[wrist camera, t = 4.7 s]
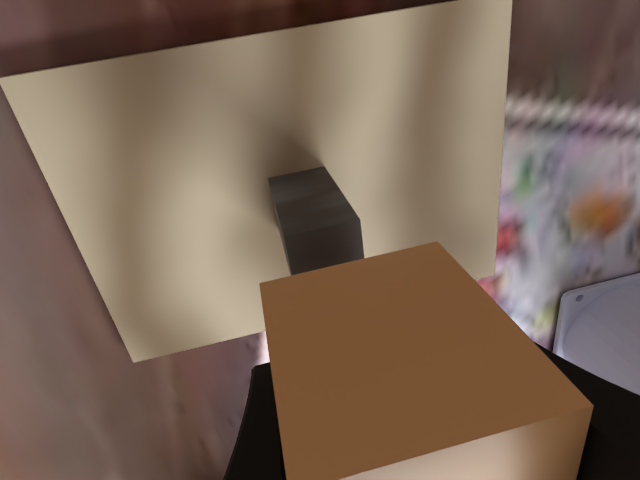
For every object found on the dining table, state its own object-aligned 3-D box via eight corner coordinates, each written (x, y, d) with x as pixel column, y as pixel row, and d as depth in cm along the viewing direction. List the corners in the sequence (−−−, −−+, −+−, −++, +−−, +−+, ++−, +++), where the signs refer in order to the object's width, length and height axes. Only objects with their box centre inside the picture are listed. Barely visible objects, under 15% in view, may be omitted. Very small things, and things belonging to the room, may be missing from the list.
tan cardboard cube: (437, 241, 12) (593, 405, 7) (439, 371, 15) (556, 562, 10) (259, 283, 12) (288, 494, 7) (292, 410, 14) (332, 636, 9)
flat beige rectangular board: (501, -9, 18) (629, -19, 13) (487, 267, 25) (565, 343, 19) (7, 75, 16) (-112, 109, 10) (136, 352, 23) (107, 464, 17)
